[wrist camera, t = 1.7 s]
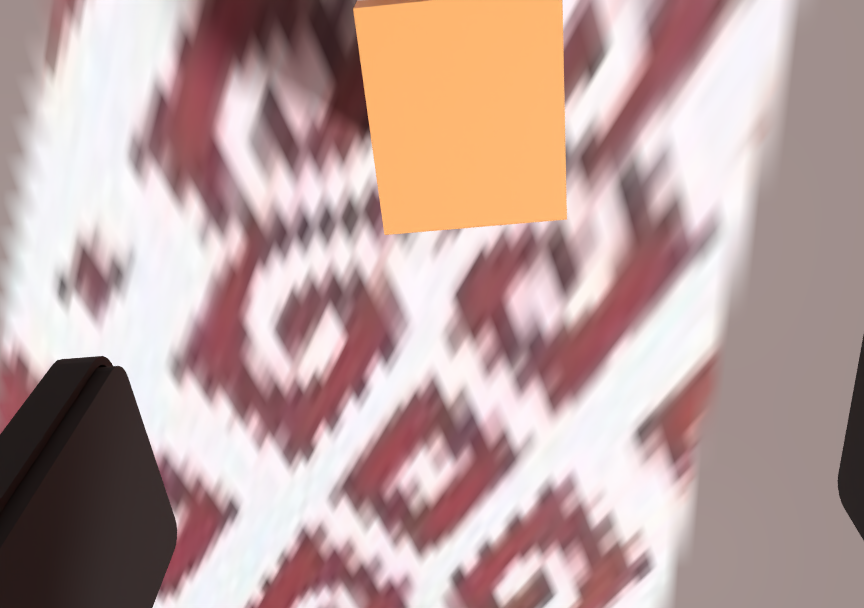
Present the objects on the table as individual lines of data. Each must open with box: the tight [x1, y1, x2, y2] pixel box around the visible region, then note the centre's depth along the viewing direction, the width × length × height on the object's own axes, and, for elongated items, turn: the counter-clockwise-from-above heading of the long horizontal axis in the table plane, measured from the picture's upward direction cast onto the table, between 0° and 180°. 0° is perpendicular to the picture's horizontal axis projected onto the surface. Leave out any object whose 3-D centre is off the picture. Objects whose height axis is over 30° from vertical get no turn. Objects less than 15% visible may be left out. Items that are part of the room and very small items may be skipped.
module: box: [353, 0, 567, 235], centre depth 24 cm, size 5×6×7 cm
